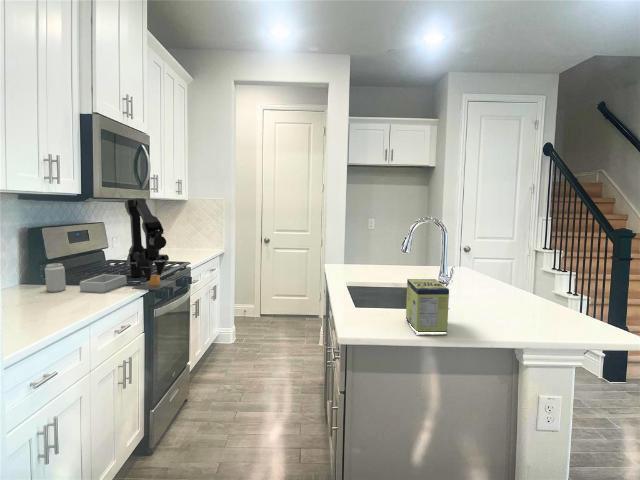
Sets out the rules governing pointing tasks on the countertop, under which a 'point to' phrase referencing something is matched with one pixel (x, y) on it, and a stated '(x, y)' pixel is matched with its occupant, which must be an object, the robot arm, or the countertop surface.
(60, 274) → the can
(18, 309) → the countertop surface
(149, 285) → the grey lid
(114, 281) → the tub
